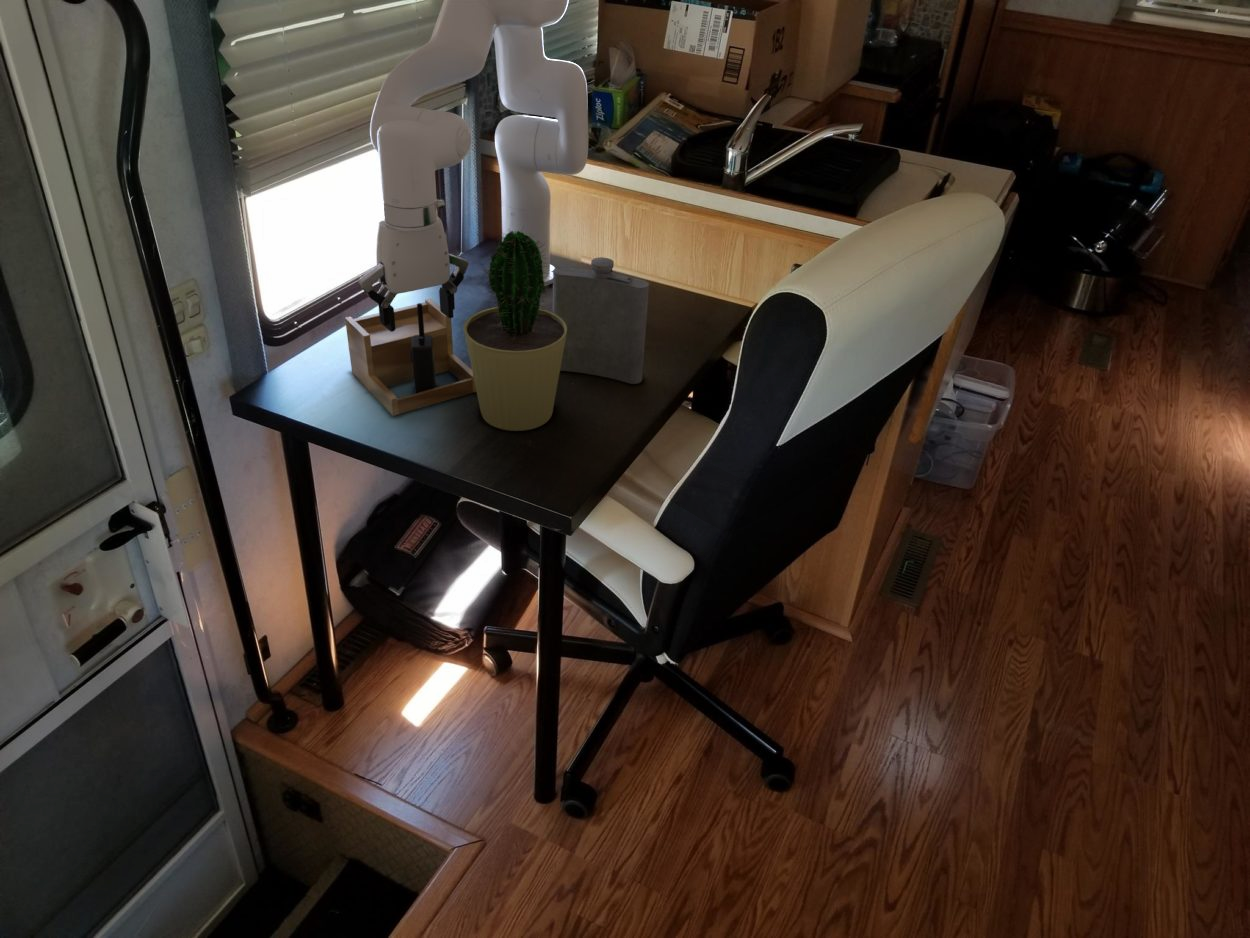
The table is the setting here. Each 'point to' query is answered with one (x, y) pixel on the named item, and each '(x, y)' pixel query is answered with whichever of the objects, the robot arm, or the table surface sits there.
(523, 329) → the potted cactus
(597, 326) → the hip flask
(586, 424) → the table surface
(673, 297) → the table surface
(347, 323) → the step shelf
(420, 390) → the walkie-talkie
